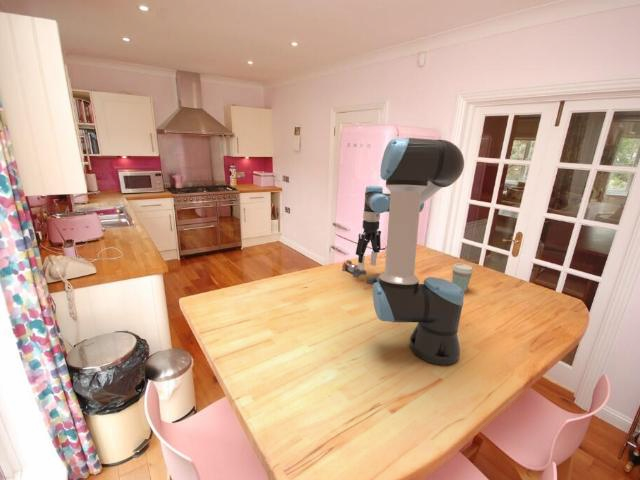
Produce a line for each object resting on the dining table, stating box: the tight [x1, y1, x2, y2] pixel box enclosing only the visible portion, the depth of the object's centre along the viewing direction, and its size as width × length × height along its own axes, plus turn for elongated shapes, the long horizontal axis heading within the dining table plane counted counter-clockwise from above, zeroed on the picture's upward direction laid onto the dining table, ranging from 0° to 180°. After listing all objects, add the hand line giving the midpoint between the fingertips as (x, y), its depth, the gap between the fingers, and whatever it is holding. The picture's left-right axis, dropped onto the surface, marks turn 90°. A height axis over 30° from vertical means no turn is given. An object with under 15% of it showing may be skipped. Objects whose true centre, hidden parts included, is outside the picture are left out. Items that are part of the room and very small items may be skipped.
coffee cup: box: [451, 263, 474, 294], centre depth 135 cm, size 8×8×12 cm
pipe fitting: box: [341, 259, 382, 285], centre depth 143 cm, size 8×26×6 cm, turn 42°
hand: (367, 266), depth 142 cm, fingers open, 8 cm apart
